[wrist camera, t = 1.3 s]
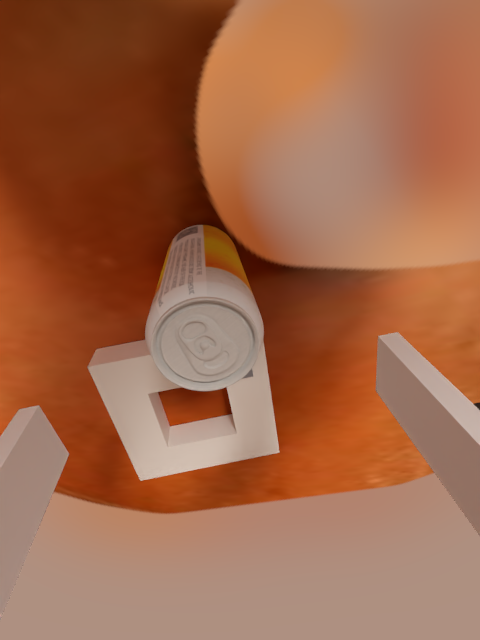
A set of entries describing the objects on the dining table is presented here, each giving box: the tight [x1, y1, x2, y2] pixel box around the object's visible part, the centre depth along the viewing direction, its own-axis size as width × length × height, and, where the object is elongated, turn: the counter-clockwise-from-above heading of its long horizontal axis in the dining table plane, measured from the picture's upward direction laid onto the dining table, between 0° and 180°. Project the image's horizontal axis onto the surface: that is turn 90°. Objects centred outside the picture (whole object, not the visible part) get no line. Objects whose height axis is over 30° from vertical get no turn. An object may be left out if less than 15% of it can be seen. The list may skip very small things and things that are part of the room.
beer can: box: [145, 225, 264, 391], centre depth 23 cm, size 6×6×15 cm
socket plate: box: [88, 340, 279, 481], centre depth 35 cm, size 16×16×4 cm
